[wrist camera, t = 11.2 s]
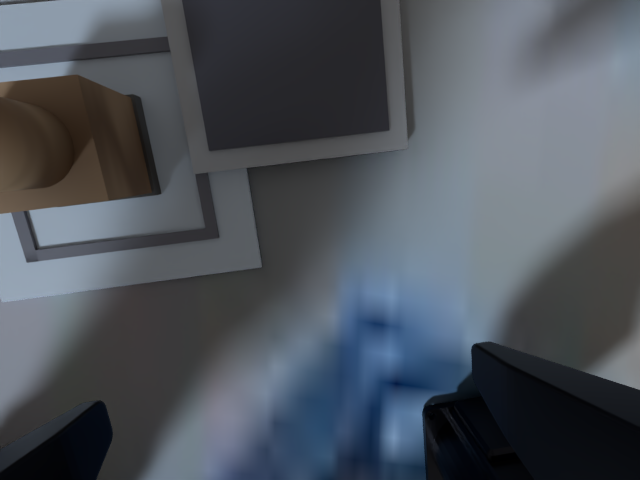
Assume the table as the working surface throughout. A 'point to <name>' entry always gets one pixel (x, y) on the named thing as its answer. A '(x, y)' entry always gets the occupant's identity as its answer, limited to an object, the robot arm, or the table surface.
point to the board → (168, 151)
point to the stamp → (71, 145)
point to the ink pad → (287, 79)
